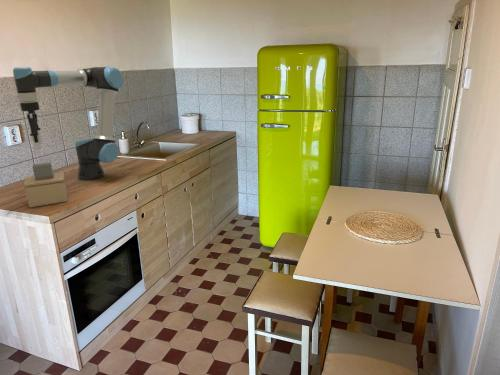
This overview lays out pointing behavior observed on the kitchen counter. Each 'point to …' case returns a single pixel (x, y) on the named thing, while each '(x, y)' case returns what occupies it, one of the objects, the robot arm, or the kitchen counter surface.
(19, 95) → the robot arm
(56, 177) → the lid
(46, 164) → the block
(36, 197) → the box
